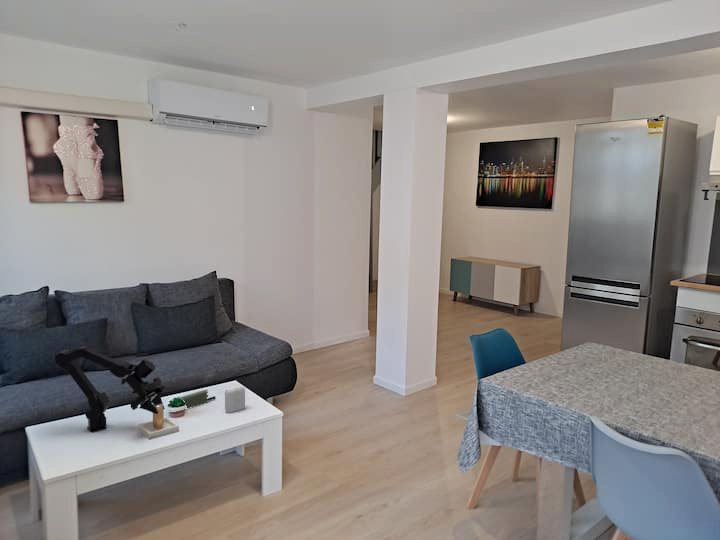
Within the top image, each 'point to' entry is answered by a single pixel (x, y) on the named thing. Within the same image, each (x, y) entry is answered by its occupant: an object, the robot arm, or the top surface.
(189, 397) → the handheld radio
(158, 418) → the battery cell
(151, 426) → the tray
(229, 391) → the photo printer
